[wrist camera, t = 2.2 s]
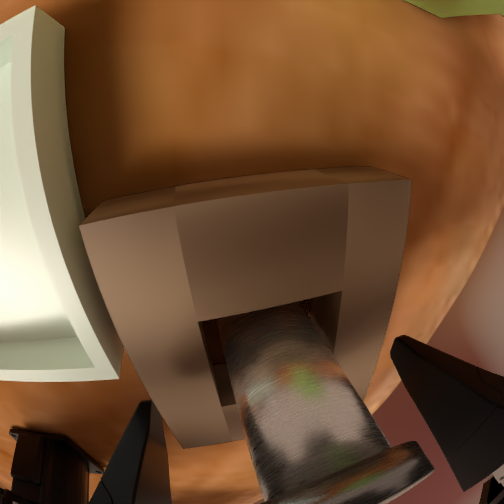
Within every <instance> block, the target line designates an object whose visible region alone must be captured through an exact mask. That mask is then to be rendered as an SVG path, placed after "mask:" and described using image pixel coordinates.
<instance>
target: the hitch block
mask: <svg viewBox="0 0 504 504" xmlns="http://www.w3.org/2000/svg"><path fill="white" fill-rule="evenodd" d="M411 188H412V180H411V179H409V178H406V177H403V176H400V175H397V174H394V173H391V172H387V171H384V170H381V169H378V168H375V167H371V166H360V167H339V168H323V169H309V170H297V171H286V172H276V173H267V174H258V175H249V176H241V177H233V178H226V179H219V180H212V181H205V182H199V183H192V184H186V185H180V186H175V187H169V188H163V189H158V190H153V191H147V192H142V193H137V194H133V195H128V196H123V197H118V198H114V199H109V200H105V201H102V202H101V203H100V204H99V205H98V206H97V207H96V208H95V209H94V210H93V211H92V212H91V213H90V214H89V216H88V217H87V218H86V219H85V220H84V221H83V222H82V223H81V224H80V225H79V227H80V231H81V234H82V238H83V241H84V245H85V248H86V251H87V254H88V257H89V260H90V263H91V266H92V269H93V272H94V275H95V278H96V281H97V283H98V286H99V289H100V291H101V294H102V297H103V299H104V302H105V304H106V307H107V309H108V312H109V314H110V316H111V319H112V321H113V323H114V326H115V328H116V330H117V333H118V335H119V337H120V339H121V341H122V343H123V346H124V348H125V350H126V352H127V354H128V356H129V358H130V360H131V362H132V364H133V366H134V368H135V370H136V372H137V374H138V375H139V377H140V379H141V381H142V383H143V385H144V387H145V388H146V390H147V392H148V394H149V395H150V397H151V399H152V401H153V402H154V404H155V405H156V407H157V409H158V410H159V412H160V414H161V416H162V417H163V419H164V420H165V422H166V424H167V425H168V427H169V428H170V430H171V431H172V433H173V434H174V436H175V437H176V439H177V440H178V442H179V443H180V445H181V446H182V448H183V449H185V448H194V447H201V446H208V445H215V444H221V443H226V442H232V441H237V440H242V439H246V438H245V434H244V431H243V427H242V424H241V420H240V416H239V412H238V409H237V405H236V401H235V397H234V393H233V389H232V385H231V381H230V377H229V373H228V369H227V365H226V363H223V364H218V365H213V364H212V360H211V356H210V352H209V348H208V344H207V340H206V336H205V332H204V328H203V324H202V321H205V320H211V319H216V318H221V317H227V316H232V315H237V314H242V313H247V312H252V311H256V310H261V309H266V308H270V307H275V306H280V305H284V304H289V303H293V302H297V301H301V300H306V299H310V298H311V311H310V320H311V321H312V323H313V324H314V326H315V327H316V329H317V330H318V332H319V333H320V335H321V337H322V338H323V340H324V341H325V343H326V344H327V346H328V347H329V349H330V351H331V352H332V354H333V355H334V357H335V358H336V360H337V361H338V363H339V365H340V366H341V368H342V369H343V371H344V372H345V374H346V375H347V377H348V379H349V380H350V382H351V383H352V385H353V386H354V388H355V390H356V391H357V393H358V394H359V396H360V397H361V399H362V401H363V400H364V398H365V395H366V393H367V390H368V387H369V384H370V382H371V379H372V376H373V373H374V370H375V367H376V364H377V361H378V358H379V354H380V351H381V348H382V345H383V341H384V338H385V334H386V331H387V327H388V323H389V319H390V315H391V311H392V307H393V303H394V299H395V294H396V290H397V285H398V280H399V275H400V270H401V265H402V259H403V254H404V247H405V241H406V234H407V227H408V219H409V210H410V200H411Z"/></svg>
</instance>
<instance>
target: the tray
mask: <svg viewBox="0 0 504 504" xmlns="http://www.w3.org/2000/svg"><path fill="white" fill-rule="evenodd" d="M64 35H65V27H64V26H62V25H61V24H60V23H58V22H57V21H56V20H54V19H53V18H52V17H51V16H49V15H48V14H47V13H45V12H44V11H43V10H41V9H40V8H39V7H37V6H36V5H35V6H33V7H31V8H29V9H27V10H26V11H24V12H22V13H20V14H18V15H16V16H14V17H13V18H11V19H9V20H7V21H6V22H4V23H2V24H1V25H0V380H5V381H27V382H71V381H95V380H110V379H119V378H120V370H121V363H122V356H123V350H124V346H123V343H122V341H121V339H120V337H119V335H118V333H117V330H116V328H115V326H114V323H113V321H112V319H111V316H110V314H109V312H108V309H107V307H106V304H105V302H104V299H103V297H102V294H101V291H100V289H99V286H98V283H97V281H96V278H95V275H94V272H93V269H92V266H91V263H90V260H89V257H88V254H87V251H86V248H85V245H84V241H83V238H82V234H81V231H80V227H79V225H80V224H81V223H82V222H83V221H84V220H85V215H84V211H83V207H82V202H81V198H80V194H79V189H78V184H77V179H76V174H75V169H74V163H73V157H72V151H71V144H70V137H69V129H68V121H67V111H66V99H65V81H64Z"/></svg>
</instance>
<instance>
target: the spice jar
mask: <svg viewBox="0 0 504 504" xmlns="http://www.w3.org/2000/svg"><path fill="white" fill-rule="evenodd" d="M217 326H218V330H219V335H220V339H221V344H222V348H223V352H224V356H225V361H226V365H227V369H228V373H229V377H230V381H231V385H232V389H233V393H234V397H235V401H236V405H237V409H238V412H239V416H240V420H241V424H242V427H243V431H244V434H245V438H246V442H247V445H248V449H249V452H250V455H251V459H252V462H253V466H254V469H255V472H256V475H257V479H258V482H259V485H260V488H261V491H262V495H263V498H264V501H265V502H263V503H261V504H386V503H388V502H390V501H392V500H393V499H395V498H397V497H398V496H400V495H402V494H403V493H405V492H406V491H408V490H409V489H411V488H412V487H414V486H415V485H417V484H418V483H420V482H421V481H422V480H424V479H425V478H426V477H427V476H429V475H430V474H431V473H432V472H433V471H434V470H435V468H434V467H433V465H432V464H431V462H430V461H429V459H428V458H427V456H426V455H425V453H424V452H423V450H422V449H421V447H420V446H419V444H418V443H417V442H416V441H410V442H406V443H403V444H400V445H397V446H395V447H391V445H390V444H389V442H388V441H387V439H386V437H385V436H384V434H383V432H382V431H381V429H380V428H379V426H378V424H377V423H376V421H375V420H374V418H373V416H372V415H371V413H370V412H369V410H368V409H367V407H366V405H365V404H364V402H363V401H362V399H361V397H360V396H359V394H358V393H357V391H356V390H355V388H354V386H353V385H352V383H351V382H350V380H349V379H348V377H347V375H346V374H345V372H344V371H343V369H342V368H341V366H340V365H339V363H338V361H337V360H336V358H335V357H334V355H333V354H332V352H331V351H330V349H329V347H328V346H327V344H326V343H325V341H324V340H323V338H322V337H321V335H320V333H319V332H318V330H317V329H316V327H315V326H314V324H313V323H312V321H311V320H310V318H309V317H308V315H307V313H306V312H305V310H304V309H303V307H302V306H301V304H300V303H299V301H297V302H293V303H289V304H284V305H280V306H275V307H270V308H266V309H261V310H256V311H252V312H247V313H242V314H237V315H232V316H227V317H221V318H217Z"/></svg>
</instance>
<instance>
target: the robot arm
mask: <svg viewBox="0 0 504 504" xmlns="http://www.w3.org/2000/svg"><path fill="white" fill-rule="evenodd" d="M390 356H391V359H392V361H393V363H394V365H395V367H396V369H397V371H398V373H399V375H400V378H401V380H402V382H403V384H404V386H405V388H406V389H407V391H408V393H409V394H410V396H411V398H412V399H413V401H414V402H415V404H416V406H417V408H418V409H419V411H420V413H421V415H422V416H423V418H424V420H425V421H426V423H427V425H428V426H429V428H430V430H431V432H432V434H433V435H434V437H435V439H436V441H437V443H438V444H439V446H440V448H441V450H442V452H443V454H444V455H445V457H446V458H447V461H448V463H449V464H450V467H451V469H452V471H453V473H454V474H455V477H456V478H457V480H458V482H459V484H460V486H461V488H462V490H463V491H464V492H465V491H466V490H468V489H470V488H471V487H473V486H474V485H475V484H477V483H479V482H480V481H482V480H483V479H485V478H486V477H487V476H489V475H490V474H493V475H492V476H491V477H490V478H489V479H488V480H487V481H486V482H485V483H484V484H483V489H482V494H481V498H480V502H479V504H504V377H503V376H500V375H497V374H494V373H492V372H489V371H486V370H484V369H482V368H479V367H476V366H475V365H472V364H470V363H468V362H465V361H463V360H461V359H459V358H456V357H454V356H452V355H449V354H447V353H445V352H443V351H440V350H438V349H436V348H433V347H431V346H429V345H427V344H424V343H422V342H420V341H418V340H415V339H413V338H411V337H409V336H406V335H401V336H399V337H396V338H395V340H394V342H393V345H392V348H391V351H390ZM9 434H10V435H11V436H12V437H13V438H14V439H15V440H16V441H17V443H16V448H15V453H14V458H13V463H12V468H11V476H12V477H13V481H12V489H11V491H10V490H8V489H2V488H0V504H172V500H171V490H170V479H169V466H168V454H167V448H166V443H165V437H164V431H163V425H162V419H161V415H160V412H159V410H158V409H157V407H156V405H155V404H154V402H153V401H152V400H144V401H141V402H140V403H139V404H138V406H137V408H136V410H135V412H134V414H133V416H132V418H131V420H130V422H129V424H128V426H127V428H126V430H125V432H124V433H123V435H122V437H121V439H120V441H119V443H118V445H117V447H116V449H115V451H114V453H113V455H112V457H111V459H110V461H109V463H108V465H107V468H106V470H105V472H104V468H102V467H101V466H100V465H99V464H97V463H96V462H95V461H94V460H92V459H91V458H90V457H89V456H88V455H87V454H85V453H84V452H83V451H82V450H81V449H80V448H79V447H77V446H76V445H75V444H74V443H73V442H72V441H71V440H70V439H68V438H67V437H65V436H61V435H51V434H42V433H34V432H28V431H21V430H16V429H10V431H9ZM89 473H95V474H103V476H102V478H101V481H100V482H99V484H98V486H97V488H96V490H95V492H94V494H93V496H92V498H91V500H90V501H89Z"/></svg>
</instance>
